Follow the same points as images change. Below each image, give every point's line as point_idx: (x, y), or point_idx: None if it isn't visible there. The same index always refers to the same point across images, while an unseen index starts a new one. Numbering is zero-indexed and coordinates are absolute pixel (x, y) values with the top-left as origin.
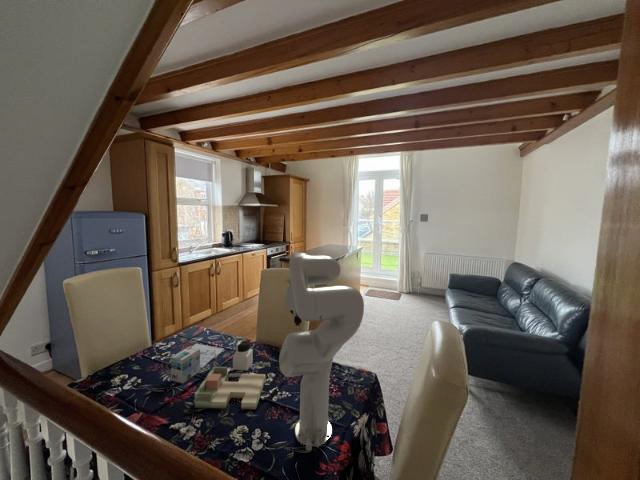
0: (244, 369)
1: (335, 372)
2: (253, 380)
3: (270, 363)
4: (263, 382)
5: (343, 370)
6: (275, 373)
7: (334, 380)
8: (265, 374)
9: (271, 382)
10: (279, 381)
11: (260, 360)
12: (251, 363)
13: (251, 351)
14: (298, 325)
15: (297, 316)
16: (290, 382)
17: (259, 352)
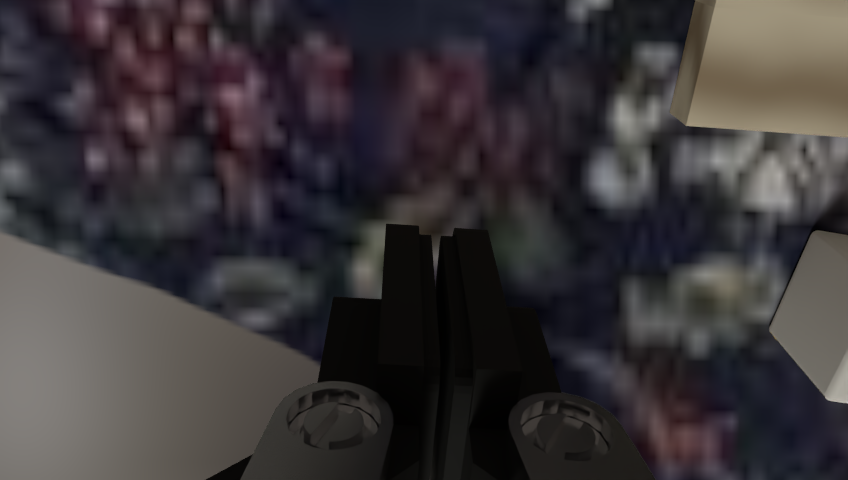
0: (839, 236)
1: (85, 195)
2: (795, 39)
3: (626, 320)
4: (701, 31)
5: (18, 220)
6: (588, 193)
7: (87, 87)
8: (687, 123)
9: (622, 75)
10: (556, 86)
11: (703, 358)
12: (780, 312)
13: (836, 372)
14: (410, 226)
15: (456, 417)
16: (464, 70)
17: (708, 454)
